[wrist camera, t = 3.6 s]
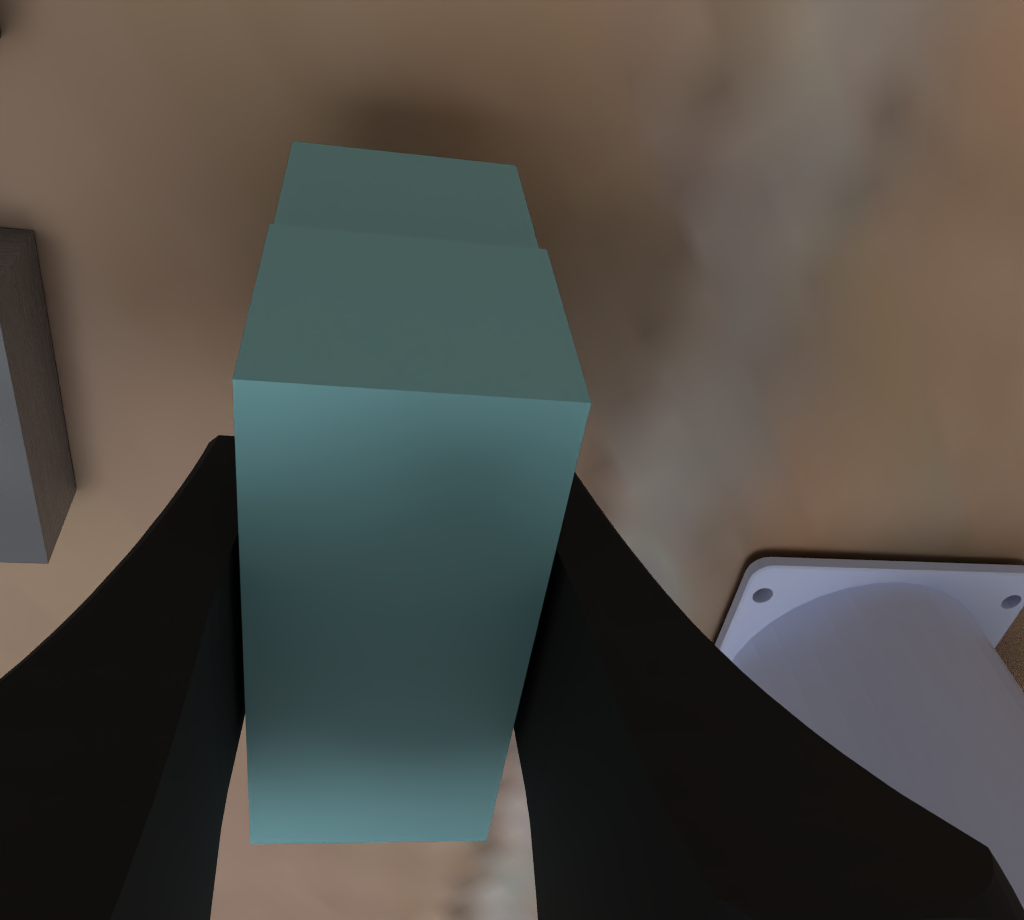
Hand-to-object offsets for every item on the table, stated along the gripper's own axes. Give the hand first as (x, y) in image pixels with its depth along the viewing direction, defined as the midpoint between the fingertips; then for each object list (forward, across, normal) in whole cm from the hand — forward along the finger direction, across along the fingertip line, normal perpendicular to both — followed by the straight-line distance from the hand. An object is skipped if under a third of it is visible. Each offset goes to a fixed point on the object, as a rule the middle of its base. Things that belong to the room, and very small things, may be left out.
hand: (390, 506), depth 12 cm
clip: (+3, 0, 0) cm, 3 cm away
